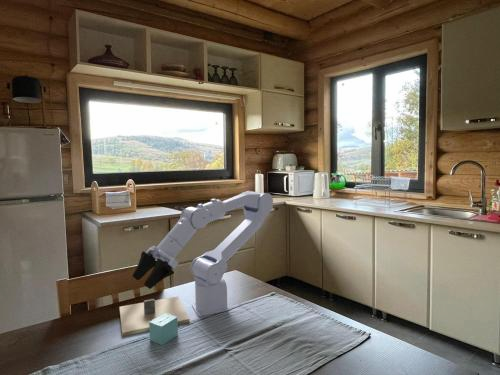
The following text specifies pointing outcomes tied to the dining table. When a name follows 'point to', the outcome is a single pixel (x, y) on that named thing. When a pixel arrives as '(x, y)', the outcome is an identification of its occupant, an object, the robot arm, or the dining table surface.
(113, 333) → the dining table surface
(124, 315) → the base plate
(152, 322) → the mint green mini box
